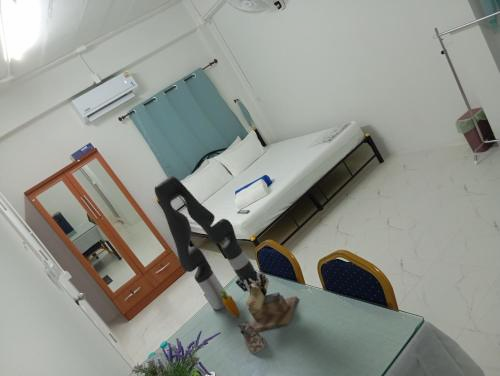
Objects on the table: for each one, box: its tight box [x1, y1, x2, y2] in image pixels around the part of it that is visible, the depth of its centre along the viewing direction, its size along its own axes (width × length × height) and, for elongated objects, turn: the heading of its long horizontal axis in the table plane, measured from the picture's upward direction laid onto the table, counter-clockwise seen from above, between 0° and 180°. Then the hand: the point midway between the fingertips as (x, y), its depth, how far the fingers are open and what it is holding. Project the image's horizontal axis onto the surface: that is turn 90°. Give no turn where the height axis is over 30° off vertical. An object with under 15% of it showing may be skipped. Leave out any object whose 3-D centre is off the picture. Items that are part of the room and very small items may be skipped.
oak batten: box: [246, 273, 270, 313], centre depth 188 cm, size 4×20×5 cm, turn 166°
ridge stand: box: [245, 291, 299, 332], centre depth 190 cm, size 20×16×10 cm
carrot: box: [219, 290, 240, 318], centre depth 204 cm, size 5×5×15 cm
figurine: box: [237, 321, 266, 354], centre depth 176 cm, size 7×7×12 cm
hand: (260, 295), depth 189 cm, fingers closed on oak batten, 4 cm apart
